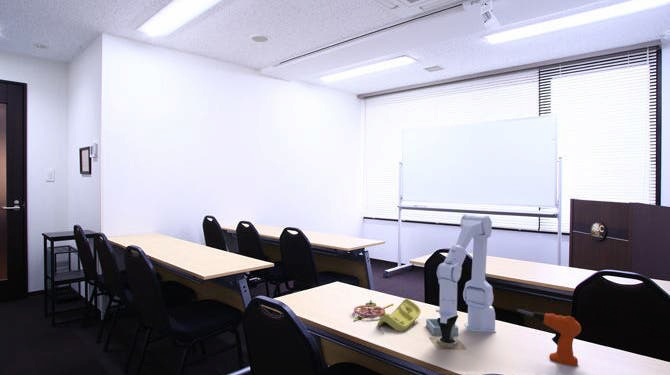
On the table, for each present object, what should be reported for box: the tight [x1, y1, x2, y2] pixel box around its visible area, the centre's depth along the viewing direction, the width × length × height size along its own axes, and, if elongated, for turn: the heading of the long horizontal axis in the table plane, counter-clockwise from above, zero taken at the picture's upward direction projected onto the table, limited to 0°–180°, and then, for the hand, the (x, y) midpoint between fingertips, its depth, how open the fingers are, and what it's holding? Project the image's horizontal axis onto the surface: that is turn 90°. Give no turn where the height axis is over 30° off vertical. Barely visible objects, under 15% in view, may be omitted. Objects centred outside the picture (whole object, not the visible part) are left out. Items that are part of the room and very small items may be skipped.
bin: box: [425, 318, 459, 336], centre depth 141 cm, size 9×9×3 cm
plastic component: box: [377, 298, 422, 332], centre depth 149 cm, size 20×7×10 cm
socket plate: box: [428, 336, 468, 351], centre depth 129 cm, size 10×10×1 cm
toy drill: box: [516, 308, 582, 367], centre depth 121 cm, size 5×19×15 cm, turn 54°
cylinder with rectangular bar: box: [440, 324, 455, 343], centre depth 129 cm, size 4×4×7 cm
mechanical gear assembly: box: [353, 299, 394, 322], centre depth 161 cm, size 30×4×15 cm
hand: (447, 337), depth 129 cm, fingers closed on cylinder with rectangular bar, 4 cm apart
